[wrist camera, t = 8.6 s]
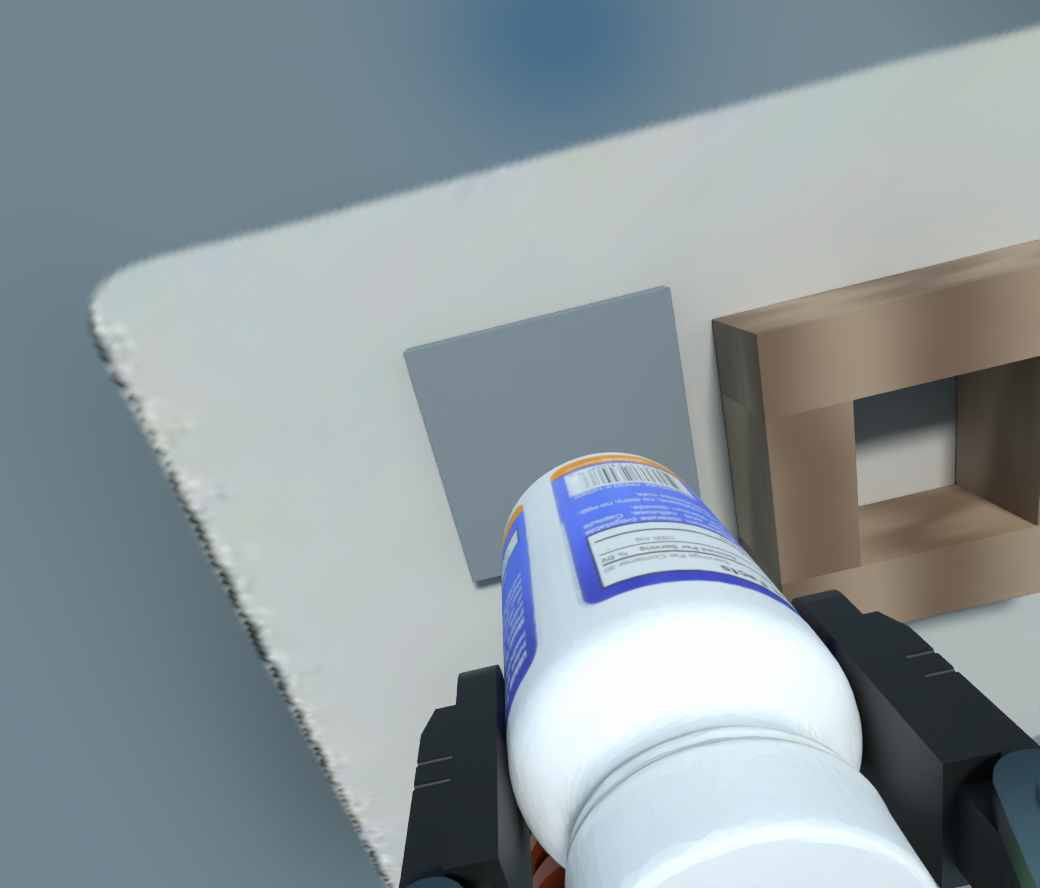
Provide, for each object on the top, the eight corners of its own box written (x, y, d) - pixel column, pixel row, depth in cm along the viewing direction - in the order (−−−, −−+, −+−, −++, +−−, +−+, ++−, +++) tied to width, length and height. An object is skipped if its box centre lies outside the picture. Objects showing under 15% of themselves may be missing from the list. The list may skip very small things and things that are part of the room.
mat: (662, 285, 22) (669, 287, 21) (697, 517, 25) (704, 527, 24) (406, 348, 22) (403, 353, 21) (473, 569, 26) (473, 582, 25)
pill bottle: (599, 661, 17) (733, 1177, 7) (457, 548, 15) (403, 1008, 6) (745, 535, 15) (1117, 955, 6) (606, 400, 14) (822, 686, 5)
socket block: (1037, 239, 22) (1150, 238, 18) (1021, 528, 26) (1111, 576, 22) (711, 319, 22) (756, 334, 19) (745, 591, 27) (788, 648, 23)
